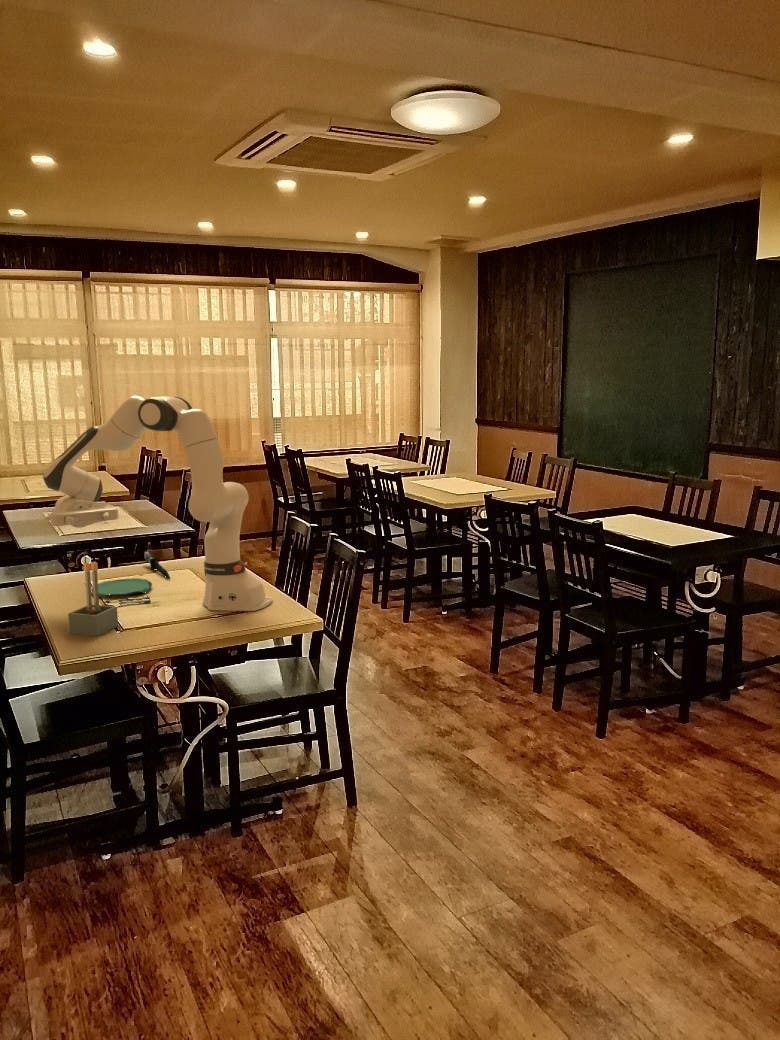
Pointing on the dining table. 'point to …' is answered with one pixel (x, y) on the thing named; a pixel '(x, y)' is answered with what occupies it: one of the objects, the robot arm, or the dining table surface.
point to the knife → (155, 564)
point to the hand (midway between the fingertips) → (90, 519)
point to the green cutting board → (124, 588)
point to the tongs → (95, 588)
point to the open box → (93, 621)
